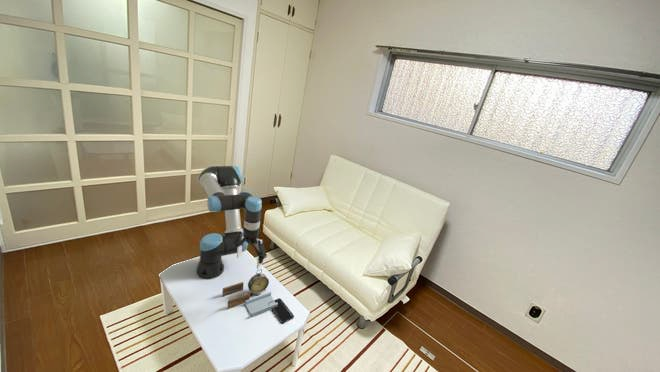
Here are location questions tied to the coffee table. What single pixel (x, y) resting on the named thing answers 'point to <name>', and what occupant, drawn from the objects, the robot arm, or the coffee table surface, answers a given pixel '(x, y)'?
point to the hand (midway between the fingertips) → (248, 262)
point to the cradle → (260, 304)
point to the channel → (237, 300)
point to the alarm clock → (258, 283)
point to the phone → (282, 311)
